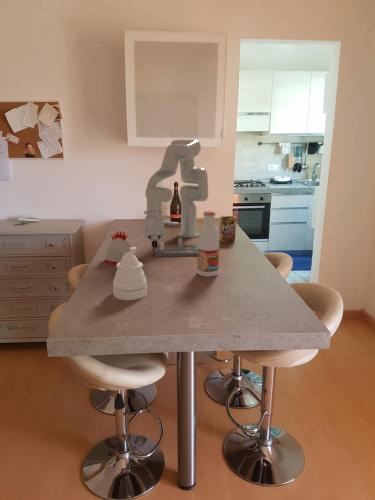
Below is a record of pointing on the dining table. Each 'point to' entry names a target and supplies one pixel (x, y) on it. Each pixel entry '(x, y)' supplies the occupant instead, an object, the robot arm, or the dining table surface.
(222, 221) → the candy box
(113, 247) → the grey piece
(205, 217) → the fruit juice
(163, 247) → the fader
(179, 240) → the fader
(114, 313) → the dining table surface
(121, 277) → the honey pot
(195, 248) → the console
